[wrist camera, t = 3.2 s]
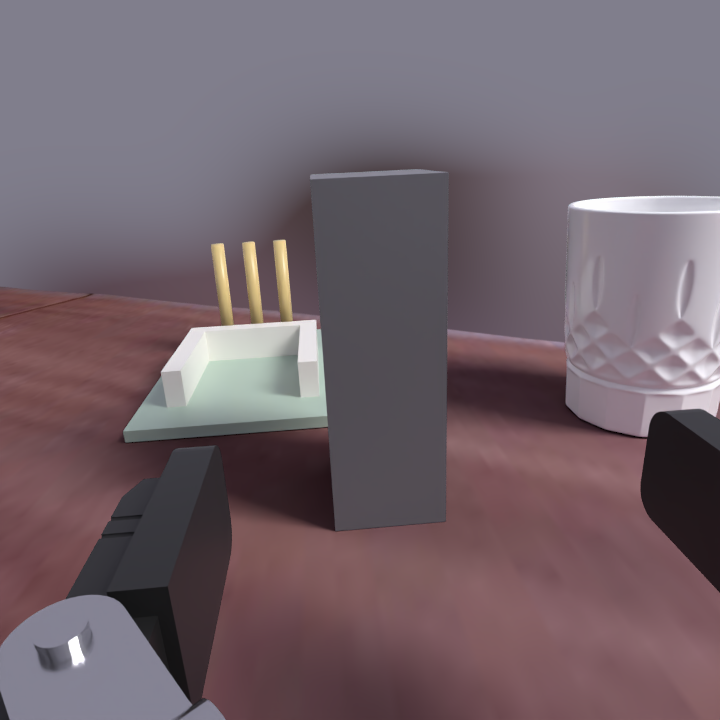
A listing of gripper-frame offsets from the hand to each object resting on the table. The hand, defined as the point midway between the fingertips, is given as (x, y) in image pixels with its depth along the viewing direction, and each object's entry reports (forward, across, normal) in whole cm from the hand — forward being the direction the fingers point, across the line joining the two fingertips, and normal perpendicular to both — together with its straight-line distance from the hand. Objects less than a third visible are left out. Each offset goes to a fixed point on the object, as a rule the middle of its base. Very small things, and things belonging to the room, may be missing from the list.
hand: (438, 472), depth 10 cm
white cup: (+16, -13, +7) cm, 22 cm away
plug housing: (+10, 0, +7) cm, 13 cm away
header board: (+24, +6, +7) cm, 26 cm away
